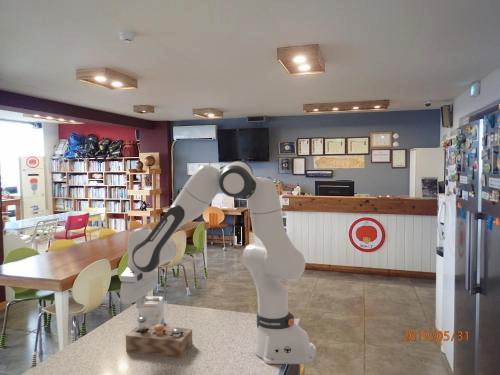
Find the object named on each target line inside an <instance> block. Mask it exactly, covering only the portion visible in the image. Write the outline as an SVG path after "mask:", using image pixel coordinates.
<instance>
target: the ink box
mask: <svg viewBox="0 0 500 375" xmlns="http://www.w3.org/2000/svg"><path fill="white" fill-rule="evenodd" d="M137 309H138V308H137ZM164 310H165V309H164V296H146V299H145V306H143V307H142V308H140V309H138V317H140V316H147V320H146V325H157V324H164V323H165V311H164ZM164 325H165V324H164Z"/></svg>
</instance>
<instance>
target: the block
mask: <svg viewBox="0 0 500 375" xmlns="http://www.w3.org/2000/svg"><path fill="white" fill-rule="evenodd" d="M154 326H155V325H146V333H139V324H138V325H137V326H136V327H134V328H133V329H132V330H130V331H129V332H128V333H127V334H126V335H125V352H129V353H130V352H131V353H137V354H147V355H153V356H154V355H155V356H163V357H171V358H180V359H182V358H183V357H184V355H186V353H187V352H188V351H189V349H190V348H191V347H192V345H193V328H184V327H180V328H181V329H182V332H181V336H180V337H175V336H173V333H172V329H173V328H176V326H175V327H174V326H165V325H164V329H163V334H162V335H156V330H155V329H154Z"/></svg>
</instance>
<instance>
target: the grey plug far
mask: <svg viewBox="0 0 500 375" xmlns="http://www.w3.org/2000/svg"><path fill="white" fill-rule="evenodd" d="M136 320H137V322H138V325H139V333H146V320H147V316H140V317H139V316H137V317H136Z"/></svg>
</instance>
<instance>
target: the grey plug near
mask: <svg viewBox="0 0 500 375" xmlns="http://www.w3.org/2000/svg"><path fill="white" fill-rule="evenodd" d="M175 327H176V326H175ZM181 328H182V327H176V328H173V329H172V333H173V336H175V337H180V336H181V332H182V329H181Z"/></svg>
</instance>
